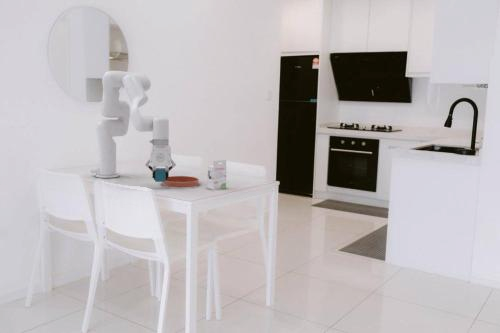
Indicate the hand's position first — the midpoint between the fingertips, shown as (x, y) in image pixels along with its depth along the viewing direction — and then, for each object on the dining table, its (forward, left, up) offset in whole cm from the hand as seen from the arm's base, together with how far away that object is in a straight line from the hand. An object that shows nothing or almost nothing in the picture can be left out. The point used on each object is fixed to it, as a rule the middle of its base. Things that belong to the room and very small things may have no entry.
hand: (160, 179), depth 232 cm
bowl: (+10, +12, -5) cm, 16 cm away
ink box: (+28, +2, -5) cm, 28 cm away
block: (0, 0, -1) cm, 1 cm away
